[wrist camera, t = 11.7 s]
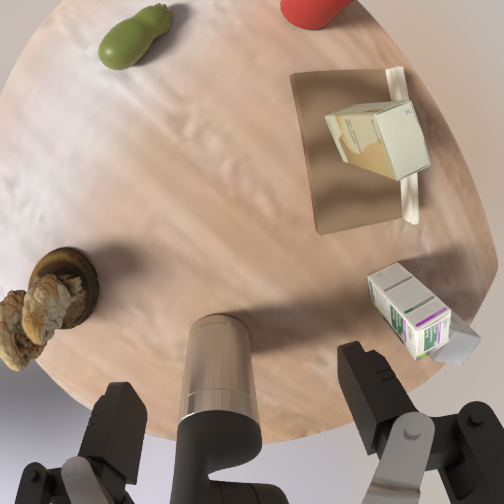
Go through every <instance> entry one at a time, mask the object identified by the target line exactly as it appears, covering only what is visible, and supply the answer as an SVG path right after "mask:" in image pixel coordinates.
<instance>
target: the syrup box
mask: <svg viewBox="0 0 504 504" xmlns="http://www.w3.org/2000/svg"><path fill="white" fill-rule="evenodd" d="M367 277H368V283H369V289H370V295H371V300H372V304H373V306H374V307H375V308H376V309H377V311H378V312H379V313H380V314H381V316H382V317H383V318H384V320H385V321H386V322H387V323H388V325H389V326H390V327H391V329H392V330H393V331H394V333H395V334H396V335H397V337H398V338H399V339H400V340H401V342H402V343H403V344H404V346H405V347H406V348H407V350H408V351H409V352H410V354H411V355H412V357H413V358H414V359H415V360H419V359H421V358H423V357H425V356H428V355H429V354H431V353H433V352H435V351H436V350H438V349H439V348H441V347H442V346H443V345H445V344H446V343H448V342H449V331H450V324H451V309H450V308H449V307H448V306H447V305H446V304H445V303H443V302H442V301H441V300H440V299H439V298H438V297H437V296H436V295H435V294H434V293H433V292H432V291H430V290H429V289H428V288H427V287H426V286H425V285H424V284H423V283H421V282H420V281H419V280H418V279H417V278H416V277H414V276H413V275H412V274H411V273H410V272H409V271H408V270H406V269H405V268H404V267H403V266H402V265H400V264H399V263H398V262H397V263H394V264H392V265H389V266H387V267H385V268H383V269H381V270H379V271H377V272H374V273H372V274H370V275H368V276H367Z"/></svg>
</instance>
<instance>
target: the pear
mask: <svg viewBox="0 0 504 504" xmlns="http://www.w3.org/2000/svg"><path fill="white" fill-rule="evenodd" d="M172 15H173V13H172V12H171V11H169V10H168V9H167V8H166V4H164V5H161V4H160V3H159V4H158V3H157V4H156V5H155V6H148V7H146V8H144V9H142V10H141V11H139V12H138V13H137V14H136V15H135V16H133V17H131V18H129V19H127V20H124V21H122V22H120V23H119V24H117V25H116V26H115V27H113V28H112V29H111V30H110V31H109V32H108V33H107V35H106V36H105V37H104V39H103V40H102V42H101V44H100V46H99V58H100V60H101V61H102V63H103V64H104V65H105V66H107V67H108V68H110V69H114V70H123V69H126V68H129V67H130V66H132V65H133V64H135V63H136V62H137V61H138V60H139V59H140V58H141V57H142V56H143V55H144V54H145V52H146V51H147V50H148V48H149V47H150V45H151V43H152V41H153V40H154V39H155V38H156V37H157V36H160V35H164V34H166V33H167V32H168V31H169V28H170V26H171V23H172V21H171V18H172Z"/></svg>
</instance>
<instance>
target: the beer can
mask: <svg viewBox="0 0 504 504" xmlns="http://www.w3.org/2000/svg"><path fill="white" fill-rule="evenodd" d="M352 1H353V0H281V11H282V13H283V15H284V17H285V18H286V19H287V20H288V21H289V22H290V23H292V24H293V25H295V26H297V27H300V28H303V29H309V30H314V29H320V28H322V27H324V26H326V25H327V24H328V23H329V22H330V21H331V20H332V19H333V18H334V17H335V16H336V15H338V14H339V13H340V12H341V11H342V10H343V9H344V8H345V7H346V6H347V5H348V4H350V3H351V2H352Z"/></svg>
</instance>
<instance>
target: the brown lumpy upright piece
mask: <svg viewBox="0 0 504 504" xmlns="http://www.w3.org/2000/svg"><path fill="white" fill-rule="evenodd" d="M96 277H97V274H96V271H95V269H94V267H93V266H92V265H91V263H90V262H89V260H88V259H87V258H86V257H85V256H83V255H82V254H81V253H80V252H78V251H76V250H73V249H71V248H60V249H56V250H53V251H51V252H49V253H48V254H47V255H45V256H44V257H43V258H42V259H41V260H40V261H39V262H38V264H37V265H36V267H35V268H34V270H33V272H32V275H31V277H30V281H29V286H28V291H27V292H25V291H24V290H16V291H13V290H12V291H9V293H8V294H7V296H6V297H5V298H4V300H3V301H2V302H1V303H0V357H1V359H3V360H4V362H5V364H6V365H7V366H8V367H9V368H10V369H12V370H14V371H22V370H23V369H24V368H26V366H27V364H28V363H29V362H30V361H31V360H34V359H37V358H38V357H39V356H40V355H41V353H42V351H43V349H44V347H45V346H46V344H47V341H48V340H50V339H51V338H52V337H53V335H54V330H55V329H71V328H74V327H75V326H77V325H80V324H81V323H83V322H84V321H85V320H86V319H87V318H88V317H89V315H90V314H91V312H92V311H93V309H94V307H95V305H96V302H97V297H98V289H99V286H98V285H99V284H98V282H97V279H96Z"/></svg>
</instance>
